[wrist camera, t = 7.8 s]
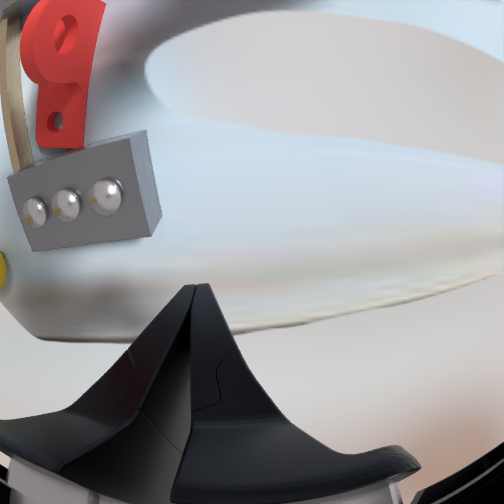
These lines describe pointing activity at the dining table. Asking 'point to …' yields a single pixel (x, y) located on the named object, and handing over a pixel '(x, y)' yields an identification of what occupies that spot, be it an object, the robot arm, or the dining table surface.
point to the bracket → (61, 65)
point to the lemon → (2, 271)
